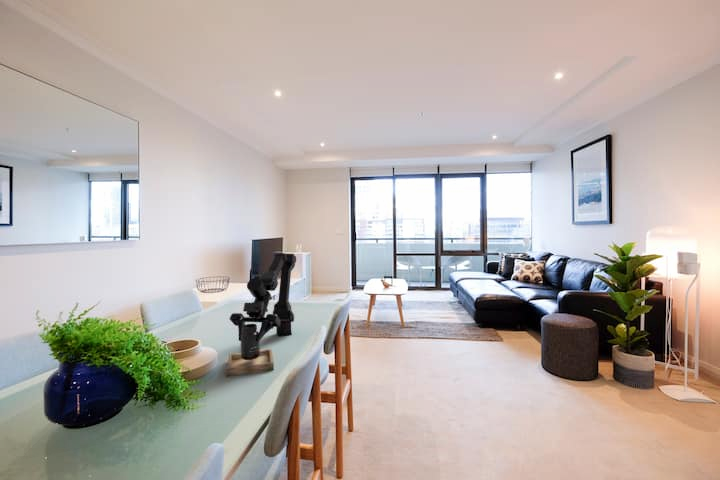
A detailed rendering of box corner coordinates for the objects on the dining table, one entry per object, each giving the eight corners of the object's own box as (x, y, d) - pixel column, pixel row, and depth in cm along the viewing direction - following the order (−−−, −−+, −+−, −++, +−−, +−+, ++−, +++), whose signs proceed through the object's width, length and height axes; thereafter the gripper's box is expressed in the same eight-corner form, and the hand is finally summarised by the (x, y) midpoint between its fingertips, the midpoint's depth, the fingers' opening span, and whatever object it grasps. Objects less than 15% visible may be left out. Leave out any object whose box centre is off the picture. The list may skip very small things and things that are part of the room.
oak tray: (271, 354, 127) (271, 348, 127) (273, 369, 114) (273, 363, 114) (229, 360, 122) (229, 354, 122) (226, 377, 109) (225, 370, 109)
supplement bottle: (255, 361, 114) (254, 329, 113) (237, 360, 115) (236, 328, 114) (263, 353, 121) (262, 322, 120) (246, 352, 122) (245, 322, 121)
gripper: (231, 292, 122) (215, 330, 111) (276, 293, 119) (265, 332, 109) (242, 307, 130) (228, 343, 120) (285, 308, 127) (274, 345, 117)
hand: (248, 340), depth 116 cm, fingers closed on supplement bottle, 7 cm apart
